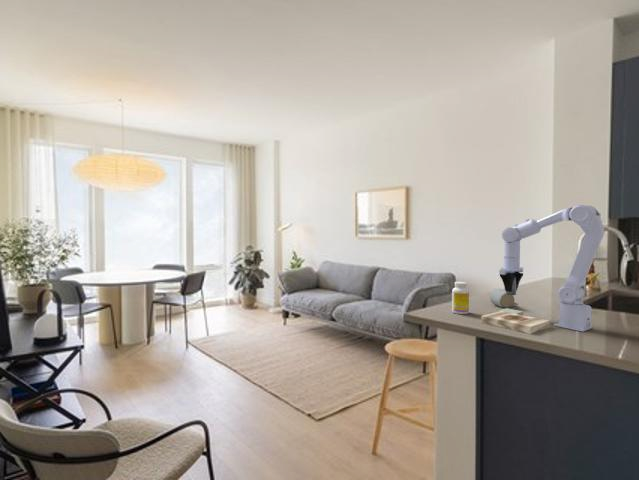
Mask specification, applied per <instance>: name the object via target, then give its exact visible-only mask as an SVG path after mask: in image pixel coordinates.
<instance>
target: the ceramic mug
mask: <svg viewBox="0 0 639 480" xmlns="http://www.w3.org/2000/svg"><path fill="white" fill-rule="evenodd" d="M489 301H490V302H491V303H492V304H493V305H495V306H498V307H500V308H502V309H506V308H508V309H511V308H512V307H516V308H517V307H518V305H519V303H518V302H515V297H514V295H507V294H506V291H505V289H504V290H503V289H502V288H494V289H493V290H492V291H491V292H490V294H489Z"/></svg>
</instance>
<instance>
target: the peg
mask: <svg viewBox="0 0 639 480" xmlns="http://www.w3.org/2000/svg"><path fill="white" fill-rule="evenodd" d="M506 294H507V295H513V296H516V295H517V291H516V277H515V278H514V281H513V285H512V291H511V292H507V291H506Z"/></svg>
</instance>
